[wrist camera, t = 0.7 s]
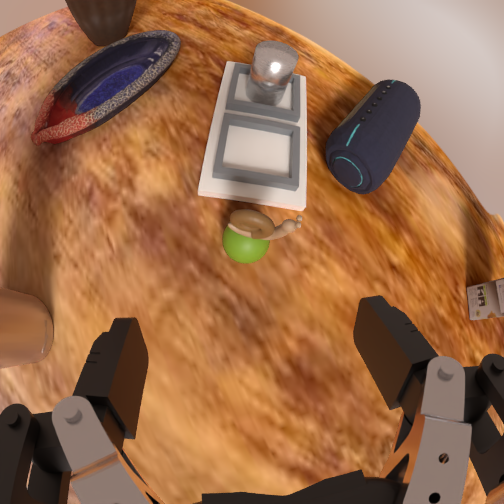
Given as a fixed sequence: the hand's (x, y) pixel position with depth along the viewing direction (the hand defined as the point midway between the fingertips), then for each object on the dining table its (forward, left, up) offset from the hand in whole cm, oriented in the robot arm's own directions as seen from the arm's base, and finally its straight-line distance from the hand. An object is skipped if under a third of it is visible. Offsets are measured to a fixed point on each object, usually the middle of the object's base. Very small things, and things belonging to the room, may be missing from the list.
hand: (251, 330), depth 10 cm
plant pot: (-30, +51, -25) cm, 64 cm away
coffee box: (+48, +6, -25) cm, 54 cm away
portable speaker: (+21, +31, -25) cm, 45 cm away
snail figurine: (+3, +10, -25) cm, 27 cm away
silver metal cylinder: (+3, +35, -23) cm, 42 cm away
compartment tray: (+3, +29, -25) cm, 38 cm away
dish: (-23, +34, -25) cm, 48 cm away
